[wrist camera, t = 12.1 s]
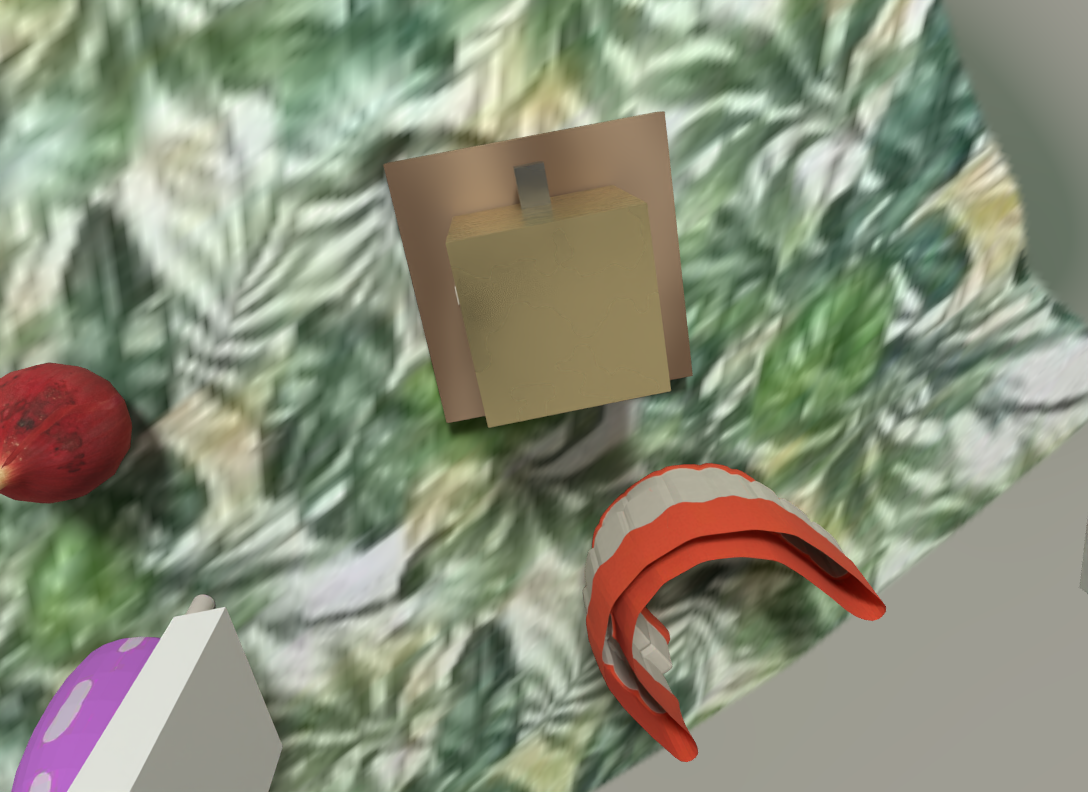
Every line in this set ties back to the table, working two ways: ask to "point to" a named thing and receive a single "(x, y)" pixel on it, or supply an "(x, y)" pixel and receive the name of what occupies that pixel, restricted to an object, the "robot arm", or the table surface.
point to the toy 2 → (674, 547)
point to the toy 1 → (84, 711)
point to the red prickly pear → (59, 432)
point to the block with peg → (559, 300)
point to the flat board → (488, 182)
